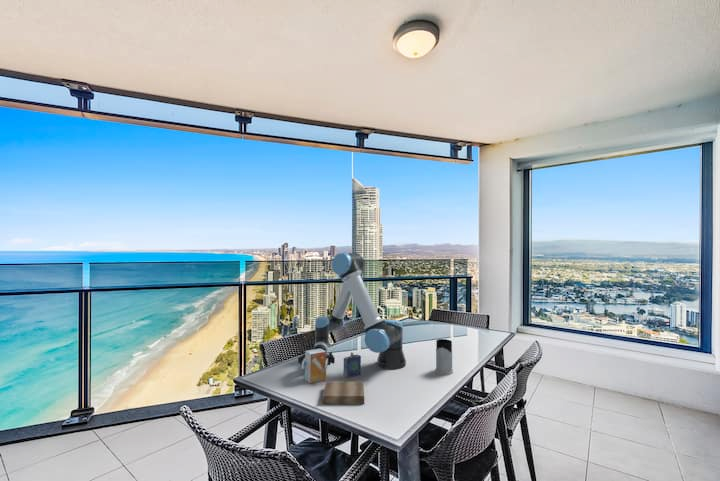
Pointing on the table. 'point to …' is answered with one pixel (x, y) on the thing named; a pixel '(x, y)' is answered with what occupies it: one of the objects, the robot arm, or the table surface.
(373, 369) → the table surface
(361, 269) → the robot arm
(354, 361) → the flask
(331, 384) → the walnut plinth
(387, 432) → the table surface
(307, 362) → the small box
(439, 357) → the glass holder
